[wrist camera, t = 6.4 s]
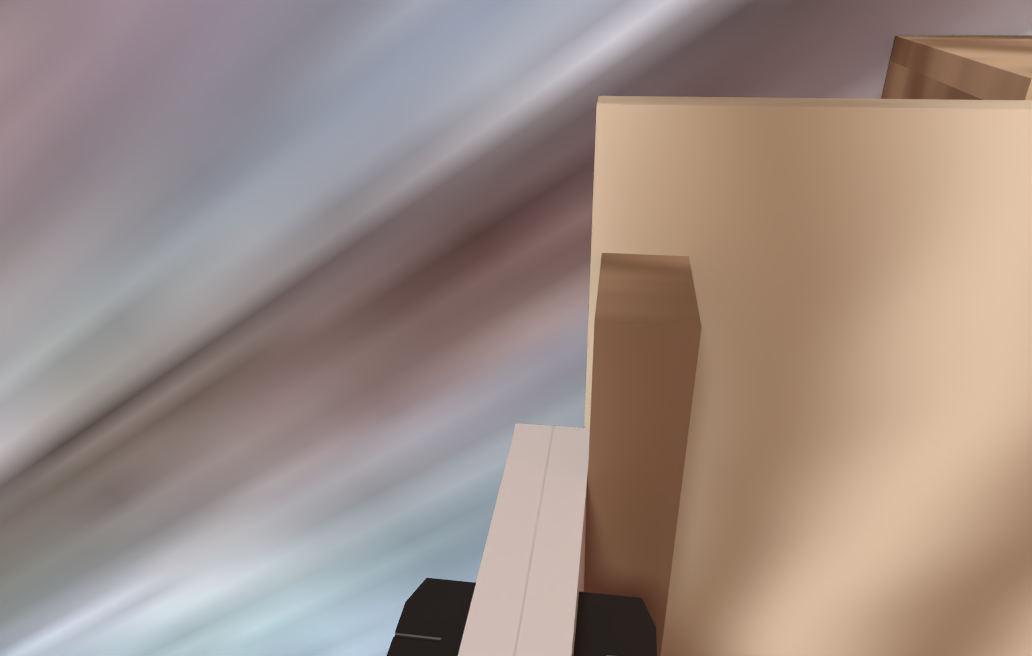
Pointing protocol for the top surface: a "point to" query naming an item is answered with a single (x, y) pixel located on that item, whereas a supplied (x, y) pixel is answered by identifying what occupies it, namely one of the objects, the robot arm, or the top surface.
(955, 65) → the box
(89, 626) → the top surface
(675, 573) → the lid
